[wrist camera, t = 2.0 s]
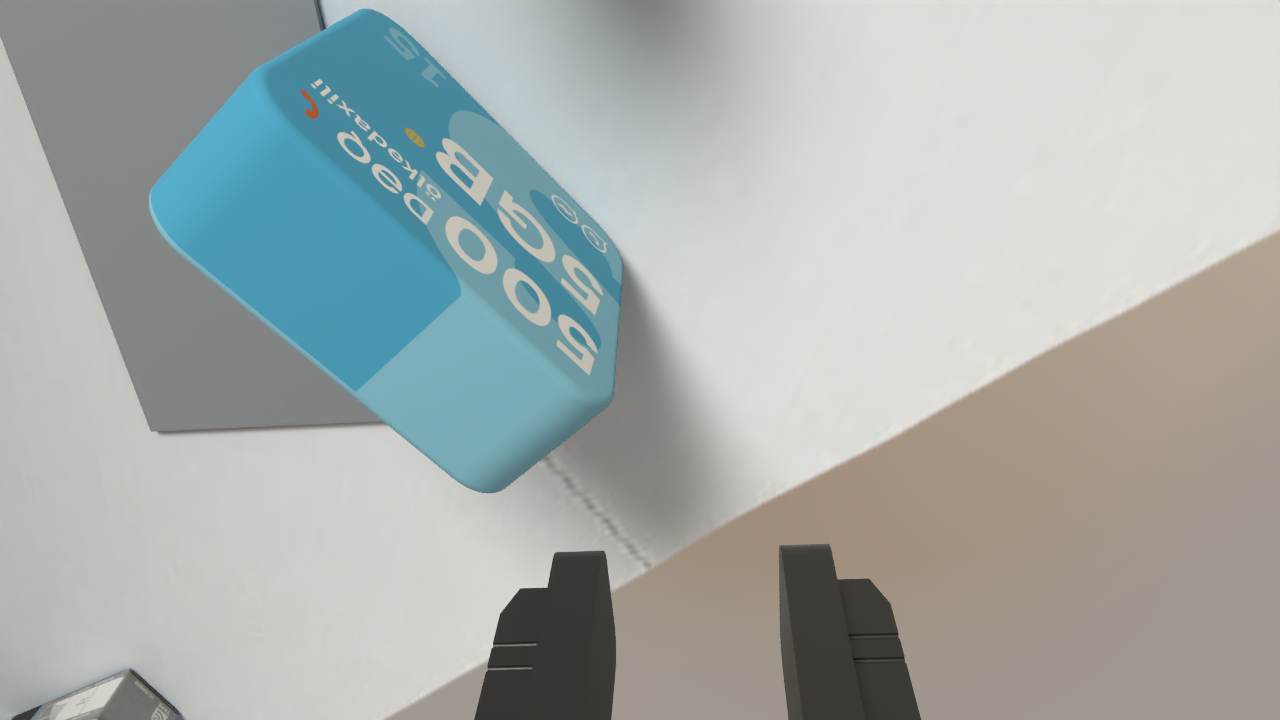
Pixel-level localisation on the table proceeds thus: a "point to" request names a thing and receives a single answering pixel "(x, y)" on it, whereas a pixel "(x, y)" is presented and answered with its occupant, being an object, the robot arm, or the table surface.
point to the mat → (125, 174)
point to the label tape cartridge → (107, 702)
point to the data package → (403, 249)
